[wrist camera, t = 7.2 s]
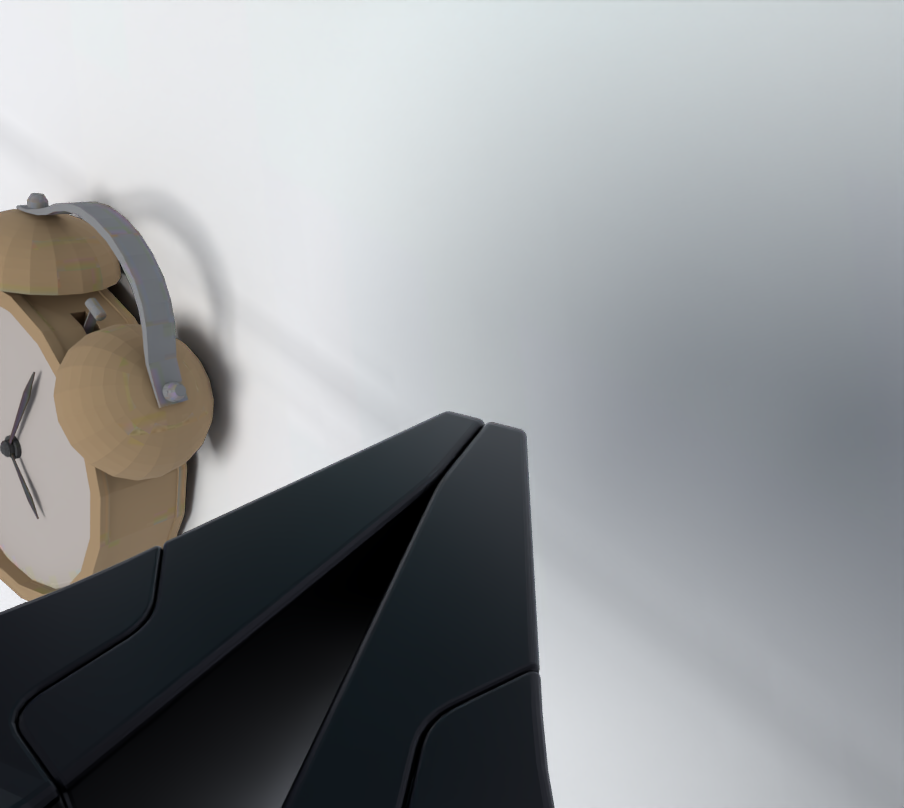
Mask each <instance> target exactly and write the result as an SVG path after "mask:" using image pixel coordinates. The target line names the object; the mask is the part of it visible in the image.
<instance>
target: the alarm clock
mask: <svg viewBox="0 0 904 808" xmlns="http://www.w3.org/2000/svg"><path fill="white" fill-rule="evenodd" d="M69 214H76V215H78V216H80V217H81V218H82V219H84V220H85V221H84V220H82V219H80V218H77V217H74V216H71V215H69ZM119 262H120V264H121V266H122V268H123V270H124V272H125V274H126V277H127V279H128V281H129V283H130V285H131V287H132V290H133V294H134V297H135V300H136V304H137V307H138V310H139V316H140V321H141V324H138V323H137V321H136V319H135V318H134V316H133V315H132V314H131V313H130V312H129V311H128V310H127V309H126V308H125V307H124V306H123V305H122V304H121V303H120V302H119V300H118V299H117V298H116V297H115V296H114V295H113V294H112V293H111V292H110V291H109V290H108V289H107V288H108V287H110V286H113V285H115V284H116V283H117V282H118V281H119V280H120V278H121V271H120V264H119ZM213 406H214V398H213V393H212V388H211V383H210V379H209V377H208V375H207V373H206V371H205V369H204V367H203V365H202V363H201V361H200V360H199V359H198V358H197V357H196V355H195V354H194V353H193V352H192V351H191V350H190V349H189V347H188V346H187V345H186V344H184V343H183V342H181V341H180V340H178V339H177V338H176V335H175V321H174V315H173V309H172V304H171V299H170V296H169V292H168V289H167V286H166V282H165V279H164V276H163V274H162V272H161V270H160V268H159V266H158V264H157V262H156V260H155V258H154V255H153V253H152V252H151V250H150V249H149V247H148V246H147V244H146V242H145V241H144V239H143V238H142V236H141V235H140V233H139V232H138V231H137V230H136V229H135V228H134V227H133V225H132V224H131V223H130V222H129V221H128V220H127V219H126V218H125V217H124V216H122V215H121V214H120V213H118V212H117V211H116V210H114V209H113V208H112V207H110V206H108V205H105V204H102V203H98V202H76V203H56V204H53V205H51V206H48V200H47V199H46V197H45V196H44V194H40V193H32V194H31V195H30V196H29V198H28V200H27V205H20V206H17V209H12V210H7V211H2V212H0V579H1V580H2V581H3V582H4V583H5V584H6V585H8V586H9V587H10V588H11V589H12V590H13V591H14V592H15V593H16V594H17V595H19V596H20V597H21V598H23V599H25V600H27V601H30V600H33V599H35V598H38V597H40V596H43V595H46V594H48V593H51V592H53V591H56V590H58V589H61V588H63V587H65V586H67V585H70V584H72V583H74V582H77V581H79V580H81V579H83V578H86V577H88V576H90V575H92V574H95V573H97V572H99V571H102V570H104V569H106V568H108V567H111V566H113V565H115V564H117V563H120V562H122V561H124V560H126V559H128V558H130V557H133V556H135V555H137V554H139V553H141V552H143V551H146V550H148V549H150V548H152V547H154V546H160V547H162V549H163V545H164V543H165V542H166V541H168V540H170V539H172V538H174V537H176V536H177V534H178V531H179V528H180V526H181V523H182V520H183V517H184V514H185V496H186V479H187V464H186V462H187V461H188V460H189V459H190V458H191V457H192V456H193V455H194V453H195V452H196V451H197V450H198V449H199V448H200V447H201V445H202V444H203V443H204V440H205V438H206V435H207V433H208V430H209V428H210V425H211V423H212V419H213Z"/></svg>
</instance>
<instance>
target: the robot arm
mask: <svg viewBox="0 0 904 808" xmlns="http://www.w3.org/2000/svg"><path fill="white" fill-rule="evenodd" d="M539 669H540V667H539V649H538V631H537V614H536V596H535V578H534V560H533V543H532V525H531V507H530V490H529V472H528V454H527V437H526V433H525V432H524V431H523V430H521V429H518V428H514V427H510V426H506V425H502V424H498V423H494V422H489V423H486V424H484V422H483V421H482V420H481V419H478V418H474V417H471V416H467V415H463V414H459V413H455V412H450V411H448V412H444V413H441V414H439V415H437V416H435V417H432V418H430V419H428V420H426V421H424V422H422V423H419V424H417V425H415V426H413V427H411V428H409V429H407V430H404V431H402V432H400V433H398V434H396V435H394V436H392V437H389V438H387V439H385V440H383V441H381V442H379V443H376V444H374V445H372V446H370V447H368V448H366V449H364V450H361V451H359V452H357V453H355V454H353V455H351V456H348V457H346V458H344V459H342V460H340V461H338V462H336V463H333V464H331V465H329V466H327V467H325V468H323V469H321V470H318V471H316V472H314V473H312V474H310V475H308V476H305V477H303V478H301V479H299V480H297V481H295V482H293V483H290V484H288V485H286V486H284V487H282V488H280V489H277V490H275V491H273V492H271V493H269V494H267V495H265V496H262V497H260V498H258V499H256V500H254V501H252V502H250V503H247V504H245V505H243V506H241V507H239V508H237V509H234V510H232V511H230V512H228V513H226V514H224V515H222V516H219V517H217V518H215V519H213V520H211V521H209V522H206V523H204V524H202V525H200V526H198V527H196V528H194V529H191V530H189V531H187V532H185V533H183V534H181V535H178V536H176V537H174V538H172V539H170V540H168V541H166V542H165V543H164V545H163V549H162V547H160V546H154V547H152V548H150V549H148V550H146V551H143V552H141V553H139V554H137V555H135V556H133V557H130V558H128V559H126V560H124V561H122V562H120V563H117V564H115V565H113V566H111V567H108V568H106V569H104V570H102V571H99V572H97V573H95V574H92V575H90V576H88V577H86V578H83V579H81V580H79V581H77V582H74V583H72V584H70V585H67V586H65V587H63V588H61V589H58V590H56V591H53V592H51V593H48V594H46V595H43V596H40V597H38V598H35V599H33V600H30V601H28V602H25V603H23V604H20V605H18V606H15V607H13V608H10V609H8V610H5V611H3V612H0V808H554V802H553V796H552V791H551V785H550V779H549V773H548V765H547V754H546V744H545V734H544V724H543V713H542V695H541V678H540V675H539Z"/></svg>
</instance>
